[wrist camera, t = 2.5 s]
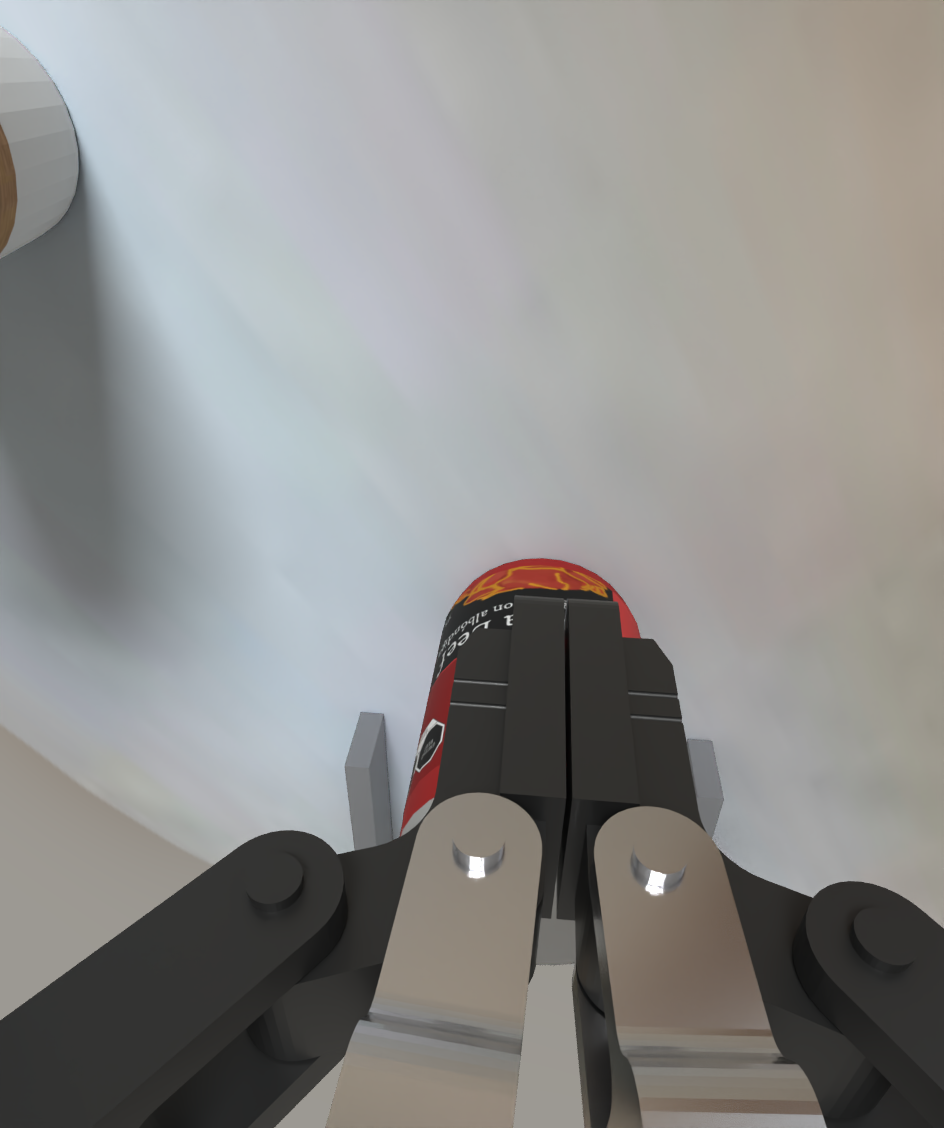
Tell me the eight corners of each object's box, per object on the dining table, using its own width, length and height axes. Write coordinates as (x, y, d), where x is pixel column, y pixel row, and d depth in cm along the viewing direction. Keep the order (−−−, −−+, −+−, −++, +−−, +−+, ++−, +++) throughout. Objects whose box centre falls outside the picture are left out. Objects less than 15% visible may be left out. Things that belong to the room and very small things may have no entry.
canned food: (616, 531, 27) (641, 778, 18) (657, 693, 32) (693, 960, 23) (414, 573, 29) (347, 816, 20) (478, 721, 33) (445, 977, 24)
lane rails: (712, 741, 33) (723, 799, 30) (674, 881, 38) (681, 939, 36) (360, 712, 34) (344, 765, 31) (374, 852, 40) (361, 907, 37)
